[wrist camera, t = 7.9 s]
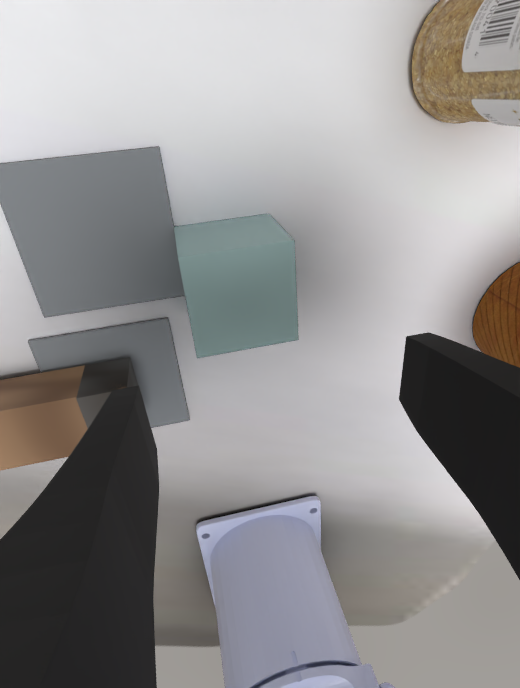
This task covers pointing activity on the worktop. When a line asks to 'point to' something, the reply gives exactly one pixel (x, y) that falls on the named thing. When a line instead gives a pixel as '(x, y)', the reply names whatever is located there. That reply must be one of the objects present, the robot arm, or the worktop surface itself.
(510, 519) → the robot arm
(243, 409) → the worktop surface
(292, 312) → the block
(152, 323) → the foot pad
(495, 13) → the sprinkles bottle
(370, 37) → the worktop surface
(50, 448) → the leg
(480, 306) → the disposable coffee cup
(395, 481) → the worktop surface
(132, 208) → the seat pad
